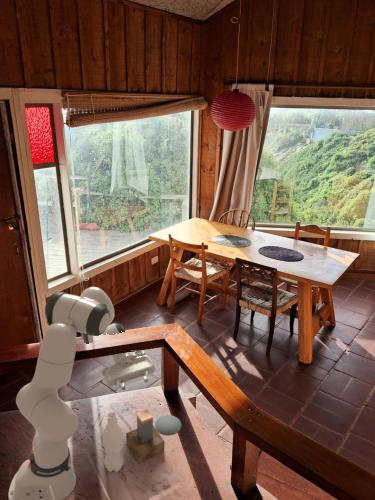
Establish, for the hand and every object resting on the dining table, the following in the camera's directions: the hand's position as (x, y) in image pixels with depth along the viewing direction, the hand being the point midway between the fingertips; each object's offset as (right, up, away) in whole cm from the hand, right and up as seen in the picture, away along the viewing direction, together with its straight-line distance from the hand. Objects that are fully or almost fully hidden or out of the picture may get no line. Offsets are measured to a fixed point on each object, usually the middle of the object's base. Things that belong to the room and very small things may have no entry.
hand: (135, 384), depth 159 cm
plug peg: (+4, -25, +1) cm, 25 cm away
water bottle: (-7, -29, -6) cm, 30 cm away
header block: (+4, -26, +2) cm, 26 cm away
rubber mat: (+12, -22, +12) cm, 28 cm away
